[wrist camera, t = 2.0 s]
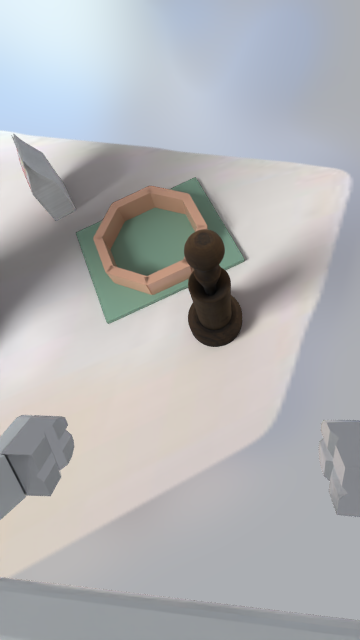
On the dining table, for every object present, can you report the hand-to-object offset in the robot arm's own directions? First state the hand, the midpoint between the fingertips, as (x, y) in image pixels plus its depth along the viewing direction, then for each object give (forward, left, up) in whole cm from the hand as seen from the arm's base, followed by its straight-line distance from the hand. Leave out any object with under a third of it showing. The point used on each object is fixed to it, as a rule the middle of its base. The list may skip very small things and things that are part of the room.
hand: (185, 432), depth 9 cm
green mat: (+2, +25, -26) cm, 36 cm away
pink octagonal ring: (+2, +25, -26) cm, 36 cm away
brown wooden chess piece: (+5, +11, -26) cm, 29 cm away
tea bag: (-9, +41, -26) cm, 50 cm away
